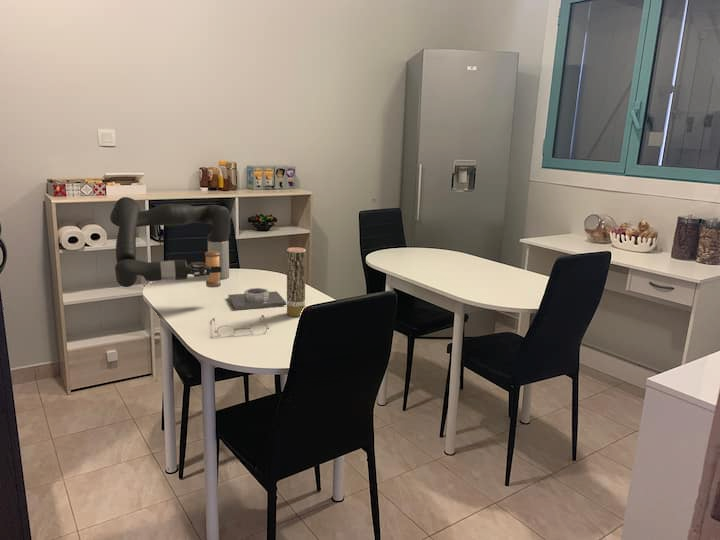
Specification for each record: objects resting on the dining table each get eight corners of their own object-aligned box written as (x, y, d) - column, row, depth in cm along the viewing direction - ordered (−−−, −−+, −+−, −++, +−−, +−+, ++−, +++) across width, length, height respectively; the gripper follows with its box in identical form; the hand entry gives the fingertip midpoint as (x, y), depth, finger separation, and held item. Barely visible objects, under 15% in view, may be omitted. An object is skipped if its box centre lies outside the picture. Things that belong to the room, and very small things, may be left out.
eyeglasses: (214, 338, 187) (214, 326, 186) (212, 321, 205) (212, 310, 204) (269, 334, 192) (269, 323, 191) (262, 318, 210) (262, 308, 209)
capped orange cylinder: (205, 284, 219) (204, 251, 216) (219, 283, 221) (218, 250, 218) (207, 288, 214) (205, 254, 211) (221, 286, 216) (220, 253, 213)
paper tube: (297, 310, 217) (297, 246, 211) (308, 314, 212) (309, 249, 206) (283, 313, 212) (283, 248, 206) (294, 318, 208) (294, 252, 202)
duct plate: (228, 298, 229) (228, 287, 228) (276, 294, 236) (276, 284, 235) (234, 310, 215) (234, 298, 214) (286, 305, 222) (286, 294, 221)
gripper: (174, 265, 203) (222, 262, 210) (171, 256, 216) (217, 254, 222) (175, 285, 205) (223, 281, 211) (172, 275, 218) (217, 272, 224)
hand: (219, 267), depth 217 cm, fingers closed on capped orange cylinder, 5 cm apart
